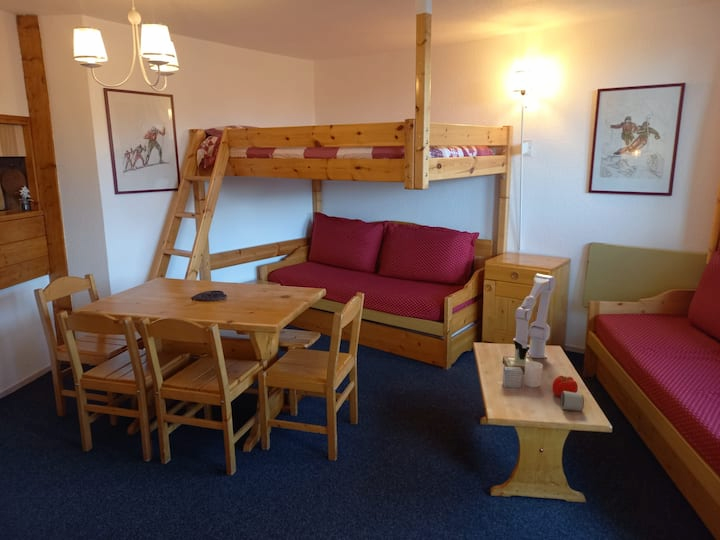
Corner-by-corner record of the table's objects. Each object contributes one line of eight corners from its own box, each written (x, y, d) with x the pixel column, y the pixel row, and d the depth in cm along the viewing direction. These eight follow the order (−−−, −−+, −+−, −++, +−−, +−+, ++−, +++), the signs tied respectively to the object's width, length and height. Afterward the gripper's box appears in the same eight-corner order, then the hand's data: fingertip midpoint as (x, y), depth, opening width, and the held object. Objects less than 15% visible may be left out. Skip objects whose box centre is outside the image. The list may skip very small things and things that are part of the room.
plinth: (502, 360, 271) (503, 356, 270) (529, 360, 270) (530, 356, 269) (508, 371, 257) (508, 367, 256) (537, 372, 256) (537, 367, 256)
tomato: (581, 400, 227) (583, 381, 225) (559, 402, 226) (560, 384, 224) (568, 389, 238) (569, 372, 236) (546, 391, 236) (547, 373, 234)
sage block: (514, 359, 265) (515, 348, 264) (523, 360, 265) (524, 349, 264) (516, 363, 261) (517, 352, 259) (525, 363, 260) (526, 352, 259)
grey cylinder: (583, 414, 215) (585, 397, 214) (563, 412, 217) (564, 395, 215) (578, 402, 225) (580, 386, 224) (558, 401, 227) (560, 384, 225)
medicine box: (519, 384, 243) (520, 366, 241) (521, 388, 239) (522, 370, 237) (502, 383, 244) (503, 366, 242) (503, 387, 240) (505, 370, 238)
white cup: (520, 384, 243) (522, 364, 240) (528, 379, 248) (529, 359, 246) (536, 389, 238) (538, 369, 235) (544, 384, 243) (545, 364, 241)
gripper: (510, 326, 266) (509, 350, 269) (517, 335, 252) (515, 361, 255) (524, 326, 266) (522, 351, 269) (531, 336, 252) (530, 362, 255)
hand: (520, 356), depth 262 cm, fingers open, 7 cm apart
